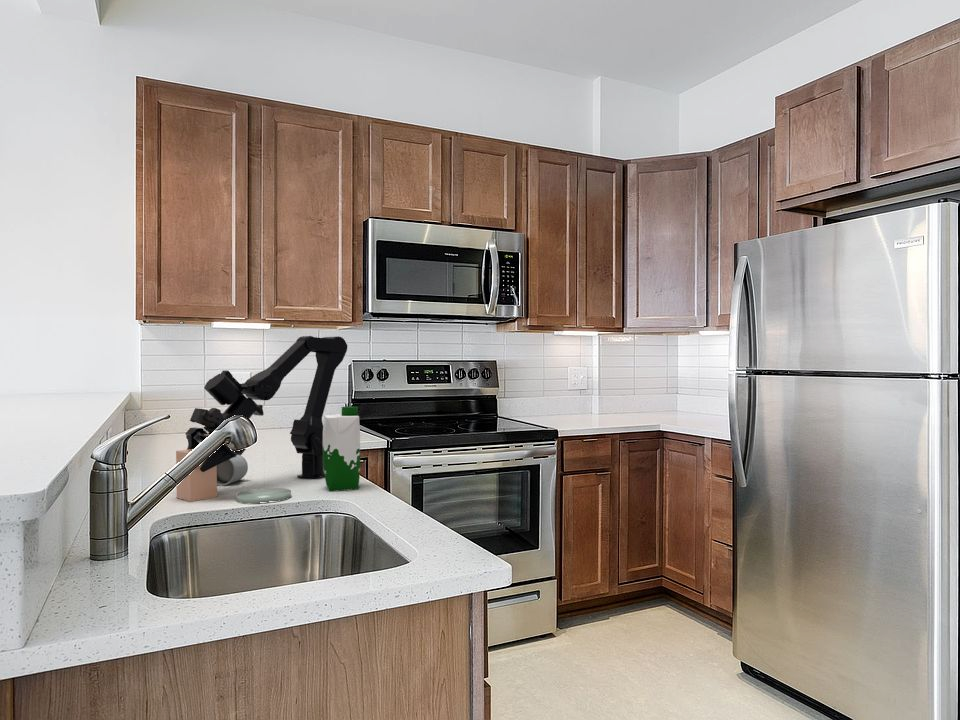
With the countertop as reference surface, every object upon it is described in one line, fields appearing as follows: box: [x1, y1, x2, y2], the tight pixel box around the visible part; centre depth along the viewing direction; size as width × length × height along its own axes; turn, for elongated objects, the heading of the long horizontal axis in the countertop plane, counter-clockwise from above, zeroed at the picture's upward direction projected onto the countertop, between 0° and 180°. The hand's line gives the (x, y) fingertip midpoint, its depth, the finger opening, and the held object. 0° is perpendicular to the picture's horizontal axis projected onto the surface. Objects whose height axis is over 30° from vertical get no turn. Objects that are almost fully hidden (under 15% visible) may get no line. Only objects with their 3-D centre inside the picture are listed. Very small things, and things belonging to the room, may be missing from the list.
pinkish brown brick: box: [175, 449, 218, 502], centre depth 150 cm, size 6×6×11 cm
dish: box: [235, 487, 292, 504], centre depth 149 cm, size 12×12×1 cm
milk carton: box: [323, 405, 361, 492], centre depth 160 cm, size 9×9×20 cm
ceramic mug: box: [217, 455, 249, 487], centre depth 168 cm, size 11×8×8 cm
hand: (191, 468), depth 149 cm, fingers open, 9 cm apart
